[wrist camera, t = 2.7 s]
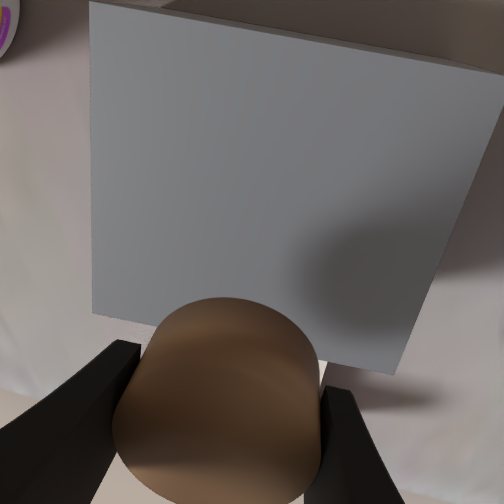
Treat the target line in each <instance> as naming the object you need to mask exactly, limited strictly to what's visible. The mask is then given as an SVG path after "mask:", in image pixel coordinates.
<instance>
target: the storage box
mask: <svg viewBox="0 0 504 504" xmlns="http://www.w3.org/2000/svg"><path fill="white" fill-rule="evenodd" d="M89 48H90V138H91V228H92V313H93V314H98V315H103V316H108V317H113V318H118V319H122V320H127V321H132V322H137V323H142V324H147V325H152V326H156V327H158V326H159V325H160V323H161V322H162V321H163V320H164V319H165V318H166V317H167V316H168V315H169V314H171V313H172V312H174V311H175V310H177V309H178V308H180V307H182V306H184V305H186V304H188V303H191V302H195V301H198V300H202V299H207V298H217V297H230V298H240V299H246V300H250V301H254V302H257V303H260V304H263V305H265V306H268V307H270V308H272V309H274V310H276V311H278V312H280V313H281V314H283V315H284V316H286V317H287V318H289V319H290V320H291V321H292V322H294V323H295V324H296V325H297V326H298V327H299V328H300V329H301V330H302V331H303V333H304V334H305V335H306V336H307V338H308V339H309V341H310V342H311V344H312V346H313V348H314V350H315V352H316V355H317V358H318V360H322V361H327V362H331V363H336V364H341V365H346V366H351V367H356V368H361V369H365V370H370V371H375V372H380V373H385V374H390V375H394V374H395V371H396V369H397V366H398V364H399V361H400V359H401V357H402V354H403V352H404V349H405V347H406V344H407V342H408V339H409V337H410V334H411V332H412V329H413V327H414V325H415V322H416V320H417V317H418V315H419V312H420V310H421V307H422V305H423V302H424V300H425V298H426V295H427V293H428V290H429V288H430V285H431V283H432V280H433V278H434V275H435V273H436V270H437V268H438V266H439V263H440V261H441V258H442V256H443V253H444V251H445V248H446V246H447V243H448V241H449V239H450V236H451V234H452V231H453V229H454V226H455V224H456V221H457V219H458V216H459V214H460V211H461V209H462V207H463V204H464V202H465V199H466V197H467V194H468V192H469V189H470V187H471V184H472V182H473V179H474V177H475V175H476V172H477V170H478V167H479V165H480V162H481V160H482V157H483V155H484V152H485V150H486V148H487V145H488V143H489V140H490V138H491V135H492V133H493V130H494V128H495V125H496V123H497V120H498V118H499V116H500V113H501V111H502V108H503V106H504V75H503V74H499V73H496V72H492V71H489V70H485V69H481V68H478V67H474V66H471V65H467V64H464V63H460V62H457V61H453V60H449V59H443V58H438V57H432V56H427V55H421V54H415V53H410V52H404V51H399V50H393V49H388V48H382V47H377V46H371V45H365V44H360V43H354V42H349V41H343V40H338V39H332V38H327V37H321V36H315V35H310V34H304V33H299V32H293V31H288V30H282V29H277V28H271V27H265V26H260V25H254V24H249V23H243V22H238V21H232V20H227V19H221V18H215V17H210V16H204V15H199V14H193V13H188V12H182V11H177V10H171V9H165V8H160V7H150V6H138V5H127V4H116V3H105V2H94V1H89Z"/></svg>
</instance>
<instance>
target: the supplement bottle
mask: <svg viewBox="0 0 504 504" xmlns="http://www.w3.org/2000/svg"><path fill="white" fill-rule="evenodd" d="M19 10H20V0H0V58H1V57H2V56H3V54H4V53H5V52H6V50H7V49H8V48H9V46H10V44H11V42H12V40H13V38H14V35H15V33H16V29H17V25H18V21H19Z"/></svg>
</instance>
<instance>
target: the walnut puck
mask: <svg viewBox="0 0 504 504" xmlns="http://www.w3.org/2000/svg"><path fill="white" fill-rule="evenodd" d="M112 436H113V440H114V445H115V447H116V450H117V452H118V454H119V456H120V458H121V459H122V461H123V463H124V464H125V465H126V467H127V468H128V469H129V471H130V472H131V473H132V474H133V475H134V476H135V477H136V478H137V479H138V480H139V481H140V482H142V483H143V484H144V485H145V486H146V487H148V488H149V489H151V490H152V491H154V492H155V493H156V494H158V495H160V496H162V497H164V498H165V499H167V500H169V501H172V502H174V503H176V504H288V503H290V502H292V501H294V500H295V499H296V498H298V497H299V496H301V495H302V494H303V493H304V492H305V491H306V490H307V489H308V488H309V486H310V485H311V484H312V482H313V481H314V479H315V477H316V475H317V473H318V470H319V466H320V460H321V423H320V370H319V362H318V358H317V355H316V352H315V350H314V348H313V346H312V344H311V342H310V341H309V339H308V338H307V336H306V335H305V334H304V333H303V331H302V330H301V329H300V328H299V327H298V326H297V325H296V324H295V323H294V322H292V321H291V320H290V319H289V318H287V317H286V316H284V315H283V314H281V313H280V312H278V311H276V310H274V309H272V308H270V307H268V306H265V305H263V304H260V303H257V302H254V301H250V300H246V299H240V298H230V297H217V298H207V299H202V300H198V301H195V302H191V303H188V304H186V305H184V306H182V307H180V308H178V309H177V310H175V311H174V312H172V313H171V314H169V315H168V316H167V317H166V318H165V319H164V320H163V321H162V322H161V323H160V325H159V326H158V327H157V329H156V331H155V332H154V334H153V336H152V338H151V340H150V342H149V344H148V346H147V348H146V350H145V352H144V354H143V356H142V358H141V359H140V361H139V363H138V365H137V367H136V369H135V371H134V373H133V375H132V377H131V379H130V381H129V383H128V385H127V387H126V389H125V391H124V393H123V395H122V396H121V398H120V400H119V402H118V404H117V406H116V409H115V412H114V415H113V420H112Z"/></svg>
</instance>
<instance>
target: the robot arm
mask: <svg viewBox="0 0 504 504" xmlns="http://www.w3.org/2000/svg"><path fill="white" fill-rule="evenodd" d="M140 355H141V344H137V343H132V342H128V341H123V340H119V339H117V340H116V341H114V342H112V343H111V344H110V345H109V346H108V347H107V348H106V349H104V350H103V351H102V352H101V353H100V354H99V355H97V356H96V357H95V358H94V359H93V360H92V361H90V362H89V363H88V364H87V365H86V366H84V367H83V368H82V369H81V370H80V371H78V372H77V373H76V374H75V375H73V376H72V377H71V378H70V379H68V380H67V381H66V382H65V383H63V384H62V385H61V386H59V387H58V388H57V389H56V390H54V391H53V392H52V393H50V394H49V395H48V396H46V397H45V398H44V399H42V400H41V401H40V402H38V403H37V404H35V405H34V406H33V407H31V408H30V409H28V410H27V411H25V412H24V413H23V414H21V415H20V416H18V417H17V418H16V419H14V420H13V421H11V422H10V423H8V424H7V425H5V426H4V427H2V428H1V429H0V504H90V503H91V501H92V499H93V497H94V495H95V493H96V491H97V489H98V488H99V486H100V484H101V482H102V480H103V478H104V476H105V474H106V472H107V470H108V468H109V466H110V464H111V462H112V460H113V458H114V457H115V455H116V453H117V450H116V447H115V445H114V440H113V436H112V420H113V415H114V412H115V409H116V406H117V404H118V402H119V400H120V398H121V396H122V395H123V393H124V391H125V389H126V387H127V385H128V383H129V381H130V379H131V377H132V375H133V373H134V371H135V369H136V367H137V365H138V363H139V361H140ZM320 423H321V460H320V466H319V470H318V473H317V475H316V477H315V479H314V481H313V482H312V484H311V485H310V486H309V488H308V489H307V490H306V491H305V492H304V504H405V503H404V501H403V499H402V497H401V495H400V494H399V492H398V490H397V488H396V486H395V484H394V482H393V481H392V479H391V477H390V475H389V473H388V471H387V469H386V467H385V465H384V463H383V461H382V459H381V457H380V455H379V453H378V451H377V449H376V447H375V444H374V442H373V440H372V438H371V436H370V434H369V431H368V429H367V427H366V425H365V422H364V420H363V418H362V415H361V413H360V411H359V408H358V406H357V403H356V401H355V398H354V396H353V394H352V393H351V391H349V390H345V389H340V388H336V387H331V386H327V385H326V386H325V389H324V392H323V395H322V398H321V401H320Z"/></svg>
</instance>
